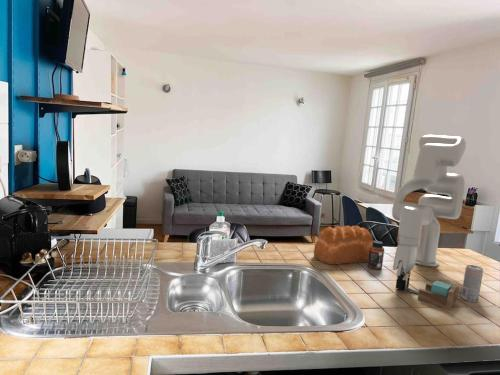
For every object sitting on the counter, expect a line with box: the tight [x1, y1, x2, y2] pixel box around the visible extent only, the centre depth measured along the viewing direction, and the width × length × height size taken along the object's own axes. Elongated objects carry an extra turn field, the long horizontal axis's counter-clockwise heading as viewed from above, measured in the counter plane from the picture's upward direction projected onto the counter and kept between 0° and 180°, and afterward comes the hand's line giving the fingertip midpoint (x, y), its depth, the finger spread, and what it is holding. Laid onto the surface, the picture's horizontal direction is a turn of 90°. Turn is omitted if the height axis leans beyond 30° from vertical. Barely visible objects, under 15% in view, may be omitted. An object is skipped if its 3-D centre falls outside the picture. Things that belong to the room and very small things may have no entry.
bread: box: [313, 225, 374, 265], centre depth 169 cm, size 14×26×16 cm, turn 114°
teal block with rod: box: [402, 273, 453, 297], centre depth 134 cm, size 17×5×6 cm, turn 49°
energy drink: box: [460, 264, 484, 303], centre depth 134 cm, size 5×5×12 cm
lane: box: [417, 282, 460, 310], centre depth 131 cm, size 9×10×6 cm
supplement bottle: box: [367, 240, 385, 270], centre depth 161 cm, size 6×6×11 cm
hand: (401, 287), depth 139 cm, fingers closed on teal block with rod, 3 cm apart
